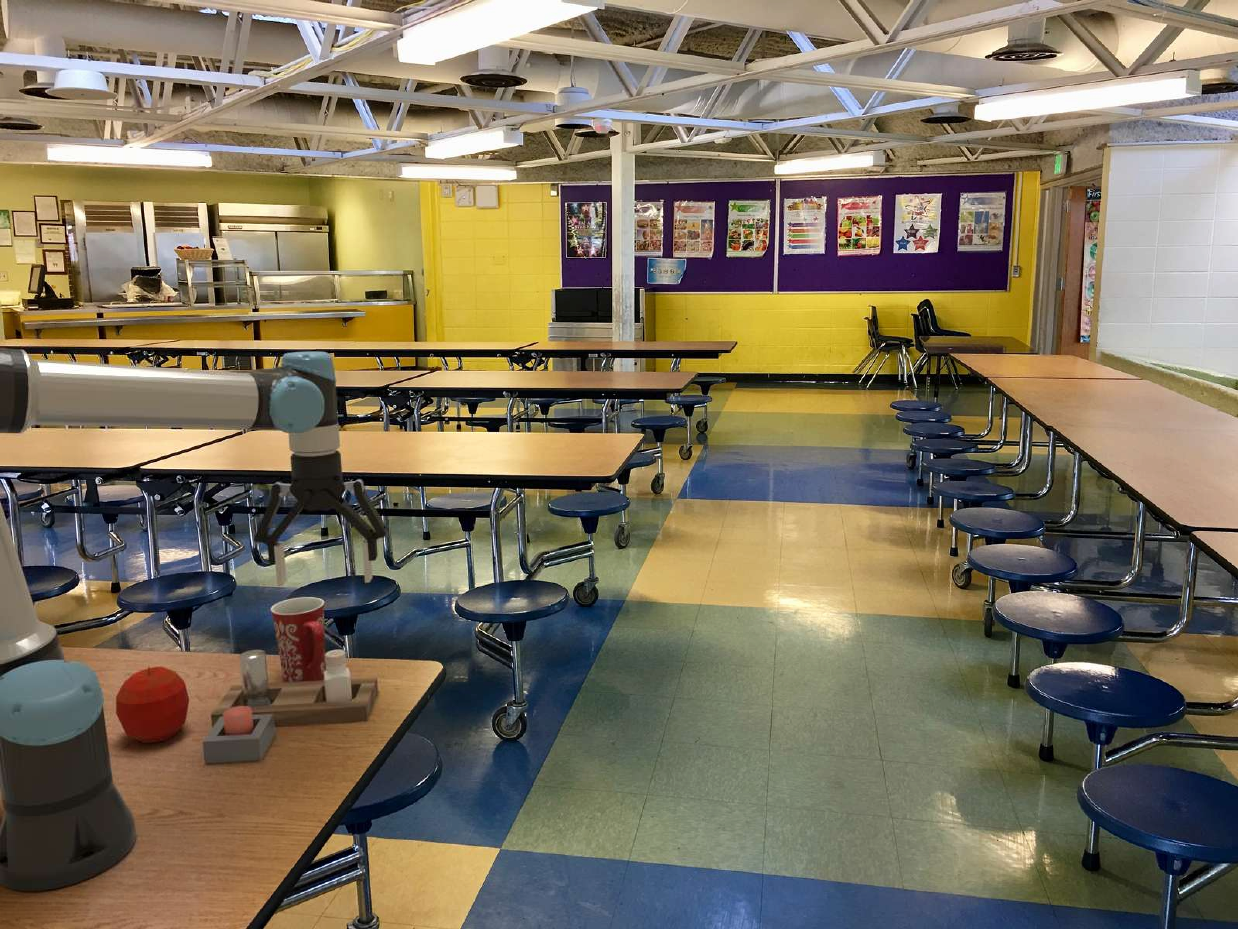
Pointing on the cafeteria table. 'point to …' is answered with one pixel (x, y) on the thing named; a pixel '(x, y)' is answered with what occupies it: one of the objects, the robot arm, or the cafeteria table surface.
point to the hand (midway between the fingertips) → (325, 582)
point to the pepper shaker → (337, 677)
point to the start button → (238, 721)
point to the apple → (152, 704)
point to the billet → (254, 678)
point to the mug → (300, 638)
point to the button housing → (239, 741)
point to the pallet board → (306, 703)
